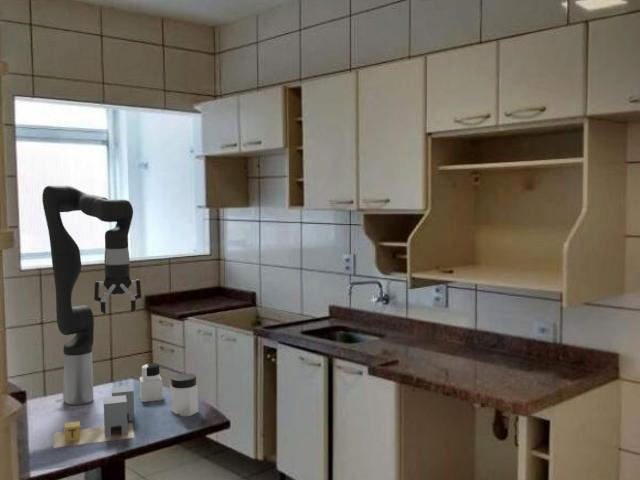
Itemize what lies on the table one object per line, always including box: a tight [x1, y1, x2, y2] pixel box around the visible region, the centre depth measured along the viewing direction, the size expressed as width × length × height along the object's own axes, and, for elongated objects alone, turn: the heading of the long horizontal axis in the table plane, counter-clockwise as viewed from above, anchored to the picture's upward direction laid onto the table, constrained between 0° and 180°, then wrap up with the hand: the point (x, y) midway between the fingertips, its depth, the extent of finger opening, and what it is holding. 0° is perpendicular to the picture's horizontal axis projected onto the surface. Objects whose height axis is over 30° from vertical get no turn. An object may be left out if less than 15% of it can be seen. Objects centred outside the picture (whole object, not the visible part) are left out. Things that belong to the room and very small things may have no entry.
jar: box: [169, 373, 199, 418], centre depth 208 cm, size 9×8×12 cm
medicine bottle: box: [139, 363, 164, 403], centre depth 223 cm, size 7×7×12 cm
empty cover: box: [103, 395, 129, 438], centre depth 189 cm, size 6×6×10 cm
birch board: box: [52, 423, 136, 449], centre depth 187 cm, size 22×12×1 cm, turn 110°
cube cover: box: [111, 384, 135, 422], centre depth 201 cm, size 6×6×10 cm
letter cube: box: [64, 420, 81, 441], centre depth 185 cm, size 4×4×4 cm
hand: (118, 312), depth 203 cm, fingers open, 8 cm apart
